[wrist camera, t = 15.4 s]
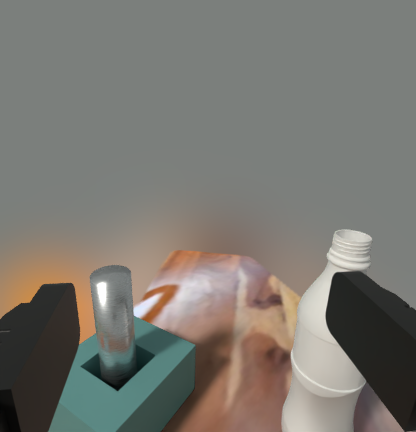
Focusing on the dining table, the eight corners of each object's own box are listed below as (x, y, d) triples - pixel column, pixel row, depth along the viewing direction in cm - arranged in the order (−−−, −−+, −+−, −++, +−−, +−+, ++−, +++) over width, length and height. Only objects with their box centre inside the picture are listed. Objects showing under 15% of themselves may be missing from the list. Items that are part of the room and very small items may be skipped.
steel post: (122, 384, 40) (111, 261, 33) (145, 399, 38) (139, 272, 32) (97, 408, 36) (81, 277, 30) (122, 426, 34) (109, 290, 28)
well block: (128, 351, 46) (126, 312, 44) (194, 388, 40) (195, 345, 38) (38, 427, 34) (29, 378, 32) (112, 493, 29) (107, 440, 26)
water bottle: (356, 486, 30) (420, 256, 22) (283, 476, 31) (319, 249, 23) (335, 418, 37) (378, 224, 29) (275, 411, 37) (302, 219, 30)
